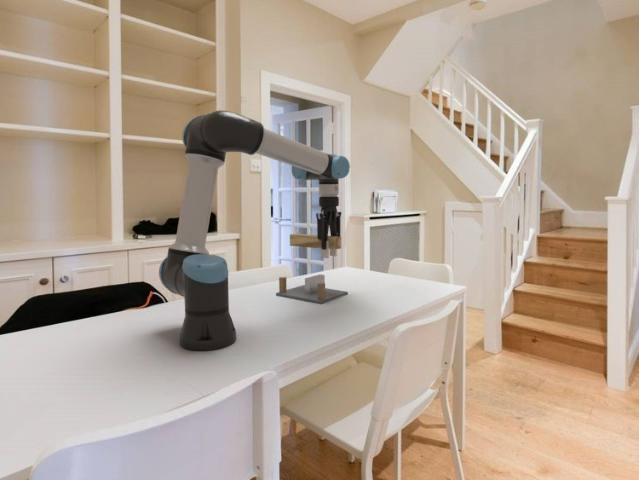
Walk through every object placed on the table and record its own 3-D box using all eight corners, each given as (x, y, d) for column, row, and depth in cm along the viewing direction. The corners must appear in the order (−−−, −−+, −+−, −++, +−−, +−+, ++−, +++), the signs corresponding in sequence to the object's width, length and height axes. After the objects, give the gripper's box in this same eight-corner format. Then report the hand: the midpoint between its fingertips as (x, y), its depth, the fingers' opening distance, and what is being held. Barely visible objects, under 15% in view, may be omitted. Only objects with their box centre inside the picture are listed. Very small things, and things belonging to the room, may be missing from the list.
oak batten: (334, 249, 157) (334, 237, 157) (289, 245, 171) (289, 234, 170) (341, 248, 161) (341, 236, 161) (297, 244, 174) (296, 233, 174)
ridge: (309, 296, 163) (309, 279, 162) (305, 296, 165) (304, 278, 164) (324, 291, 171) (324, 274, 170) (320, 291, 173) (320, 274, 172)
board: (320, 304, 153) (320, 285, 152) (275, 295, 166) (275, 278, 165) (347, 294, 167) (347, 276, 166) (304, 287, 180) (304, 270, 179)
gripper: (323, 196, 150) (323, 260, 153) (349, 195, 164) (349, 254, 167) (306, 196, 155) (307, 259, 157) (334, 195, 169) (334, 253, 171)
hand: (329, 256), depth 162 cm, fingers closed on oak batten, 4 cm apart
